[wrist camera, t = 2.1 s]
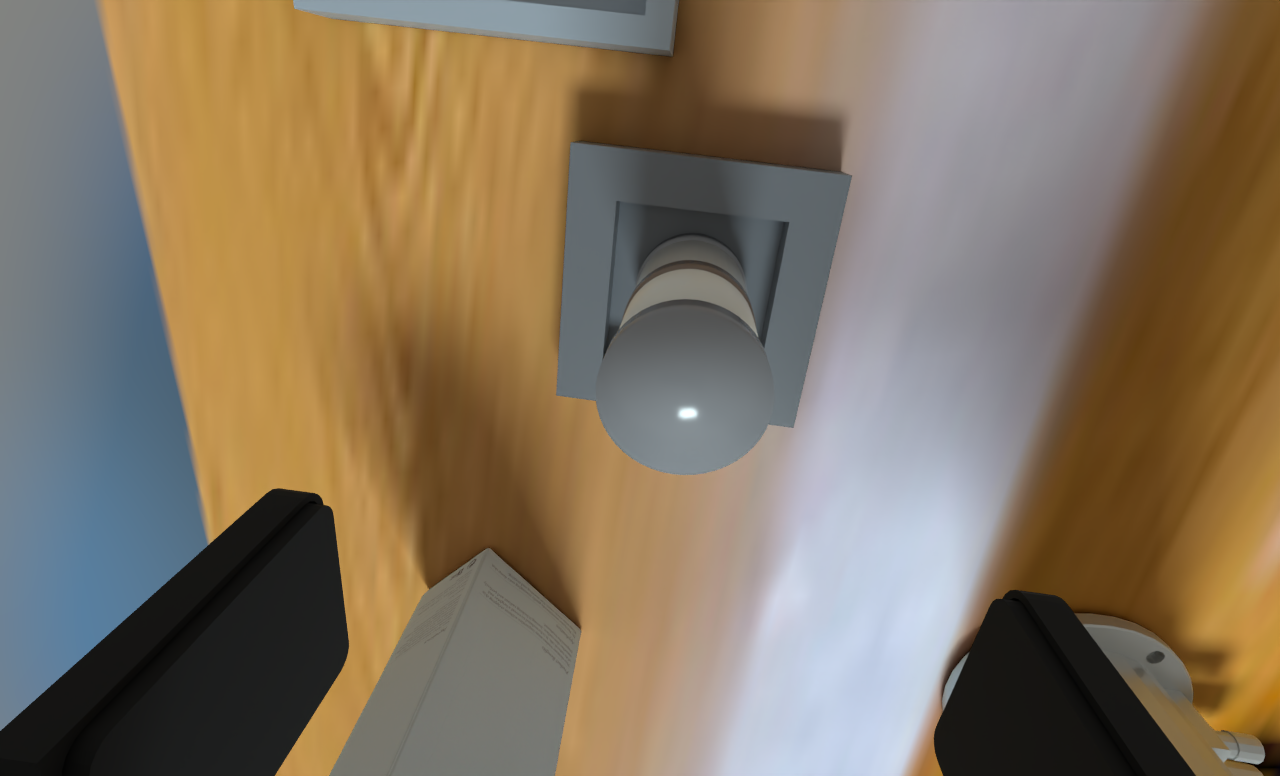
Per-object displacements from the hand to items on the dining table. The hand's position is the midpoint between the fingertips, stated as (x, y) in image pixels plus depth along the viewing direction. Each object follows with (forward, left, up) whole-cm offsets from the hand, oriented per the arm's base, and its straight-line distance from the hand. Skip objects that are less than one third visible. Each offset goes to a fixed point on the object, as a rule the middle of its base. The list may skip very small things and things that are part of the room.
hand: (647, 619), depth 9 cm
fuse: (0, 0, -20) cm, 20 cm away
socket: (0, +1, -21) cm, 21 cm away
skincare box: (+8, +21, -21) cm, 31 cm away
